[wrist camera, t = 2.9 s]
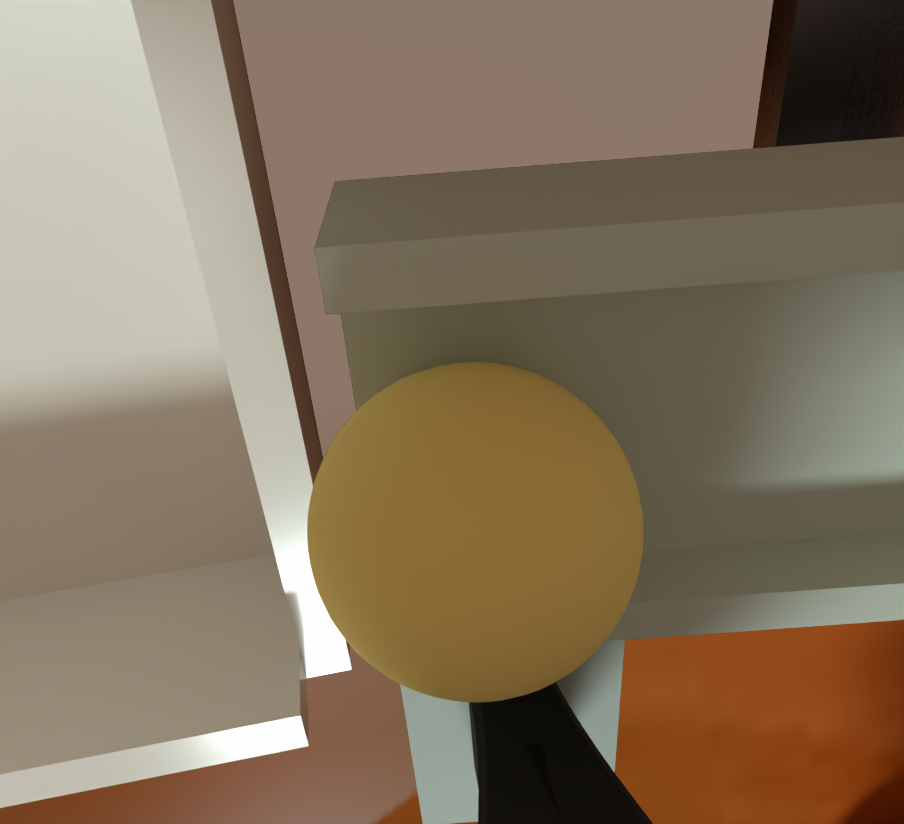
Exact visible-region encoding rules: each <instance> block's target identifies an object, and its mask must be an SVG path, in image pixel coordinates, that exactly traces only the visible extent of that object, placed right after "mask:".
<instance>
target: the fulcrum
mask: <svg viewBox="0 0 904 824" xmlns="http://www.w3.org/2000/svg"><path fill="white" fill-rule="evenodd" d="M895 137H904V0H774V1H773V9H772V15H771V22H770V30H769V37H768V44H767V51H766V59H765V66H764V73H763V80H762V88H761V95H760V102H759V109H758V116H757V124H756V131H755V139H754V145H753V149H754V148H767V147H780V146H793V145H805V144H818V143H831V142H844V141H856V140H869V139H882V138H895Z"/></svg>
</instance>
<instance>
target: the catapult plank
mask: <svg viewBox="0 0 904 824" xmlns="http://www.w3.org/2000/svg"><path fill="white" fill-rule="evenodd" d="M315 254H316V259H317V265H318V271H319V276H320V282H321V288H322V294H323V299H324V306H325V311H326V314H339V313H341V319H342V325H343V332H344V338H345V344H346V350H347V357H348V363H349V369H350V375H351V382H352V388H353V394H354V400H355V406H356V411H357V410H358V409H359V408H360V407H361V406H362V405H364V404H365V403H366V402H367V401H368V400H370V399H371V398H372V397H373V396H374V395H376V394H377V393H379V392H380V391H382V390H384V389H385V388H387V387H388V386H390V385H392V384H393V383H395V382H397V381H398V380H400V379H402V378H405V377H407V376H409V375H412V374H414V373H416V372H420V371H423V370H427V369H430V368H433V367H437V366H441V365H447V364H453V363H461V362H486V363H498V364H503V365H508V366H513V367H517V368H521V369H524V370H527V371H530V372H533V373H536V374H538V375H540V376H542V377H545V378H547V379H549V380H551V381H553V382H555V383H556V384H558V385H560V386H561V387H563V388H565V389H566V390H568V391H569V392H570V393H572V394H573V395H574V396H576V397H577V398H578V399H580V400H581V401H582V402H584V403H585V404H586V405H587V406H588V407H589V408H590V409H591V410H592V411H593V412H594V413H595V414H596V415H597V416H598V417H599V418H600V419H601V420H602V421H603V423H604V424H605V425H606V427H607V428H608V429H609V431H610V432H611V433H612V435H613V436H614V437H615V439H616V440H617V442H618V443H619V445H620V447H621V449H622V450H623V452H624V454H625V456H626V458H627V460H628V463H629V465H630V467H631V470H632V473H633V475H634V478H635V481H636V484H637V487H638V491H639V497H640V503H641V508H642V514H643V553H642V559H641V565H640V569H639V574H638V578H637V582H636V585H635V588H634V591H633V593H632V596H631V599H630V601H629V603H628V605H627V607H626V610H625V612H624V614H623V615H622V617H621V619H620V620H619V622H618V624H617V625H616V627H615V628H614V630H613V631H612V632H611V634H610V635H609V637H608V638H607V639H606V641H605V642H604V643H603V644H602V645H601V646H600V648H599V649H598V650H597V651H596V652H595V653H594V654H593V655H591V656H590V657H589V658H588V659H587V660H586V661H585V662H584V663H583V664H581V665H580V666H579V667H578V668H577V669H576V670H574V671H573V672H571V673H569V674H568V675H566V676H565V677H563V678H562V679H560V680H558V681H556V684H557V685H558V687H559V689H560V691H561V692H562V694H563V696H564V697H565V699H566V701H567V702H568V704H569V706H570V707H571V709H572V711H573V712H574V714H575V715H576V717H577V719H578V720H579V722H580V723H581V725H582V726H583V728H584V729H585V731H586V732H587V734H588V735H589V737H590V738H591V740H592V741H593V743H594V744H595V746H596V747H597V749H598V750H599V752H600V753H601V754H602V756H603V757H604V759H605V760H606V762H607V763H608V764H609V766H610V767H611V769H612V770H613V771H614V772H615V759H616V746H617V733H618V719H619V706H620V693H621V680H622V667H623V654H624V641H625V640H629V639H643V638H657V637H671V636H685V635H699V634H712V633H726V632H740V631H754V630H768V629H782V628H796V627H809V626H823V625H837V624H851V623H865V622H879V621H892V620H904V137H895V138H882V139H869V140H856V141H844V142H831V143H818V144H805V145H793V146H780V147H767V148H754V149H743V150H742V149H741V150H730V151H716V152H703V153H691V154H679V155H678V154H677V155H665V156H652V157H641V158H640V157H639V158H626V159H615V160H601V161H588V162H575V163H562V164H550V165H537V166H524V167H511V168H498V169H486V170H473V171H460V172H448V173H435V174H422V175H409V176H397V177H383V178H371V179H358V180H346V181H335V182H334V186H333V189H332V192H331V196H330V199H329V202H328V205H327V209H326V212H325V215H324V219H323V222H322V225H321V228H320V232H319V235H318V238H317V241H316V245H315ZM400 686H401V692H402V698H403V704H404V710H405V716H406V723H407V728H408V735H409V741H410V748H411V754H412V760H413V766H414V772H415V778H416V785H417V791H418V797H419V803H420V810H421V816H422V822H423V824H450V823H464V822H478V794H479V789H478V783H477V778H476V773H475V767H474V756H473V745H472V734H471V723H470V711H469V702H459V701H452V700H446V699H441V698H436V697H432V696H429V695H426V694H422V693H419V692H417V691H414V690H412V689H409V688H407V687H405V686H403V685H401V684H400Z"/></svg>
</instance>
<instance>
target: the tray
mask: <svg viewBox="0 0 904 824" xmlns="http://www.w3.org/2000/svg"><path fill="white" fill-rule="evenodd" d="M322 461H323V456H322V451H321V446H320V441H319V436H318V431H317V426H316V421H315V416H314V410H313V405H312V400H311V395H310V390H309V385H308V380H307V375H306V370H305V365H304V360H303V355H302V349H301V344H300V340H299V334H298V329H297V324H296V319H295V314H294V309H293V304H292V299H291V293H290V289H289V283H288V278H287V273H286V269H285V263H284V258H283V253H282V248H281V243H280V238H279V232H278V227H277V222H276V217H275V212H274V207H273V202H272V197H271V192H270V187H269V182H268V177H267V171H266V166H265V161H264V156H263V151H262V146H261V141H260V136H259V131H258V126H257V121H256V115H255V110H254V105H253V100H252V95H251V90H250V85H249V80H248V75H247V70H246V65H245V60H244V55H243V49H242V44H241V39H240V34H239V29H238V24H237V19H236V14H235V9H234V4H233V0H0V808H3V807H8V806H13V805H18V804H23V803H28V802H33V801H38V800H43V799H48V798H52V797H58V796H63V795H67V794H73V793H78V792H83V791H88V790H93V789H97V788H103V787H108V786H113V785H118V784H123V783H128V782H132V781H137V780H142V779H147V778H152V777H157V776H162V775H167V774H172V773H177V772H182V771H187V770H192V769H197V768H202V767H207V766H212V765H217V764H222V763H227V762H232V761H237V760H242V759H247V758H251V757H257V756H262V755H267V754H272V753H277V752H282V751H287V750H292V749H297V748H302V747H307V746H309V734H308V704H307V702H308V701H307V678H310V677H315V676H321V675H326V674H331V673H336V672H342V671H347V670H351V658H350V648H349V647H350V646H349V643H348V642H347V641H346V640H345V638H344V637H343V636H342V634H341V633H340V632H339V630H338V629H337V627H336V626H335V625H334V623H333V622H332V620H331V619H330V617H329V615H328V613H327V610H326V608H325V606H324V604H323V602H322V600H321V598H320V595H319V593H318V591H317V588H316V584H315V581H314V578H313V574H312V570H311V565H310V560H309V553H308V543H307V519H308V510H309V504H310V498H311V493H312V489H313V484H314V482H315V479H316V476H317V473H318V471H319V468H320V466H321V463H322Z"/></svg>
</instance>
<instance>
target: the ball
mask: <svg viewBox="0 0 904 824" xmlns="http://www.w3.org/2000/svg"><path fill="white" fill-rule="evenodd" d="M307 543H308V553H309V560H310V565H311V570H312V574H313V578H314V581H315V584H316V588H317V591H318V593H319V595H320V598H321V600H322V602H323V604H324V606H325V608H326V610H327V613H328V615H329V617H330V619H331V620H332V622H333V623H334V625H335V626H336V627H337V629H338V630H339V632H340V633H341V634H342V636H343V637H344V638H345V640H346V641H347V642H348V643H349V644H350V646H351V647H352V648H353V649H354V650H355V651H356V652H357V653H358V654H359V655H360V656H361V657H362V658H363V659H364V660H366V661H367V662H368V663H369V664H371V665H372V666H373V667H374V668H376V669H377V670H378V671H380V672H381V673H383V674H384V675H385V676H387V677H388V678H390V679H392V680H393V681H395V682H397V683H399V684H401V685H403V686H405V687H407V688H409V689H412V690H414V691H417V692H419V693H422V694H426V695H429V696H432V697H436V698H441V699H446V700H452V701H459V702H493V701H501V700H506V699H510V698H515V697H519V696H523V695H526V694H529V693H532V692H535V691H538V690H540V689H542V688H545V687H547V686H549V685H551V684H553V683H554V682H556V681H558V680H560V679H562V678H563V677H565V676H566V675H568V674H569V673H571V672H573V671H574V670H576V669H577V668H578V667H579V666H580V665H581V664H583V663H584V662H585V661H586V660H587V659H588V658H589V657H590V656H591V655H593V654H594V653H595V652H596V651H597V650H598V649H599V648H600V646H601V645H602V644H603V643H604V642H605V641H606V639H607V638H608V637H609V635H610V634H611V632H612V631H613V630H614V628H615V627H616V625H617V624H618V622H619V620H620V619H621V617H622V615H623V614H624V612H625V610H626V607H627V605H628V603H629V601H630V599H631V596H632V593H633V591H634V588H635V585H636V582H637V578H638V574H639V569H640V565H641V559H642V553H643V514H642V508H641V503H640V497H639V491H638V487H637V484H636V481H635V478H634V475H633V473H632V470H631V467H630V465H629V463H628V460H627V458H626V456H625V454H624V452H623V450H622V449H621V447H620V445H619V443H618V442H617V440H616V439H615V437H614V436H613V435H612V433H611V432H610V431H609V429H608V428H607V427H606V425H605V424H604V423H603V421H602V420H601V419H600V418H599V417H598V416H597V415H596V414H595V413H594V412H593V411H592V410H591V409H590V408H589V407H588V406H587V405H586V404H585V403H584V402H582V401H581V400H580V399H578V398H577V397H576V396H574V395H573V394H572V393H570V392H569V391H568V390H566V389H565V388H563V387H561V386H560V385H558V384H556V383H555V382H553V381H551V380H549V379H547V378H545V377H542V376H540V375H538V374H536V373H533V372H530V371H527V370H524V369H521V368H517V367H513V366H508V365H503V364H498V363H486V362H461V363H453V364H447V365H441V366H437V367H433V368H430V369H427V370H423V371H420V372H416V373H414V374H412V375H409V376H407V377H405V378H402V379H400V380H398V381H397V382H395V383H393V384H392V385H390V386H388V387H387V388H385V389H384V390H382V391H380V392H379V393H377V394H376V395H374V396H373V397H372V398H371V399H370V400H368V401H367V402H366V403H365V404H364V405H362V406H361V407H360V408H359V409H358V410H357V411H356V413H355V414H354V415H353V416H352V417H351V418H350V419H349V420H348V421H347V423H346V424H345V425H344V426H343V427H342V428H341V430H340V431H339V433H338V434H337V436H336V438H335V439H334V441H333V442H332V444H331V446H330V447H329V449H328V451H327V452H326V454H325V456H324V458H323V461H322V463H321V466H320V468H319V471H318V473H317V476H316V479H315V482H314V484H313V489H312V493H311V498H310V504H309V510H308V519H307Z"/></svg>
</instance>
